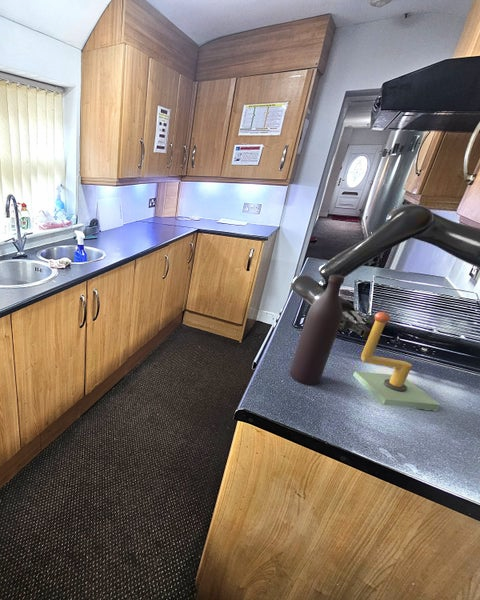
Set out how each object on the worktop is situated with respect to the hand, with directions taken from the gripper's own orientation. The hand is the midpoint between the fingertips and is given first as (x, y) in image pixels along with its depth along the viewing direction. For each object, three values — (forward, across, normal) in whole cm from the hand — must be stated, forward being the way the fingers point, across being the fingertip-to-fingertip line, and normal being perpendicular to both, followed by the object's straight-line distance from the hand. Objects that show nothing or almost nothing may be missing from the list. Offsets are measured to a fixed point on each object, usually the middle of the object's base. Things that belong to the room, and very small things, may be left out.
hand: (367, 334), depth 83 cm
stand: (+3, +9, +15) cm, 18 cm away
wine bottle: (0, -11, +15) cm, 19 cm away
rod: (+2, +5, +12) cm, 13 cm away
